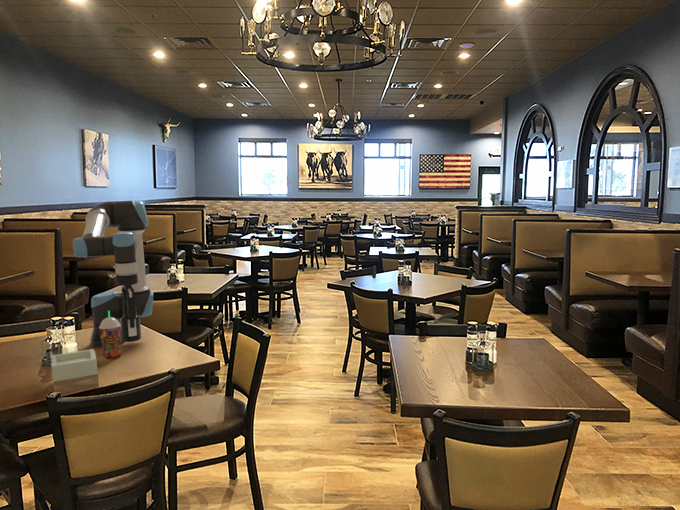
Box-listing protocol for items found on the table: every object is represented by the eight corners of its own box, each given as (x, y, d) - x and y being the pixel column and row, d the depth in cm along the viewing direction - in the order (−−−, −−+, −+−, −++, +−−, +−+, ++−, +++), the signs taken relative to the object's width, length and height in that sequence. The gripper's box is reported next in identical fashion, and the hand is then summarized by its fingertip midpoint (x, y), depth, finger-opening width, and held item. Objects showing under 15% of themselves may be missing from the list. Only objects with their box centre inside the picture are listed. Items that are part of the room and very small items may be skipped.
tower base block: (53, 383, 191) (52, 370, 191) (95, 375, 198) (94, 363, 197) (54, 396, 179) (53, 382, 178) (99, 387, 186) (98, 374, 185)
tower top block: (52, 370, 191) (51, 355, 190) (94, 362, 197) (93, 348, 197) (53, 381, 179) (51, 366, 178) (97, 373, 185) (96, 359, 185)
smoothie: (105, 362, 213) (101, 314, 210) (99, 357, 219) (95, 311, 216) (126, 357, 218) (122, 310, 215) (119, 352, 224) (115, 307, 222)
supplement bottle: (134, 342, 194) (132, 311, 192) (118, 342, 195) (115, 311, 194) (145, 337, 201) (142, 307, 199) (129, 336, 202) (126, 306, 200)
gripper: (112, 271, 201) (117, 328, 204) (119, 278, 184) (124, 341, 187) (133, 269, 205) (137, 325, 208) (141, 276, 188) (146, 338, 191)
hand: (131, 333), depth 198 cm, fingers closed on supplement bottle, 7 cm apart
